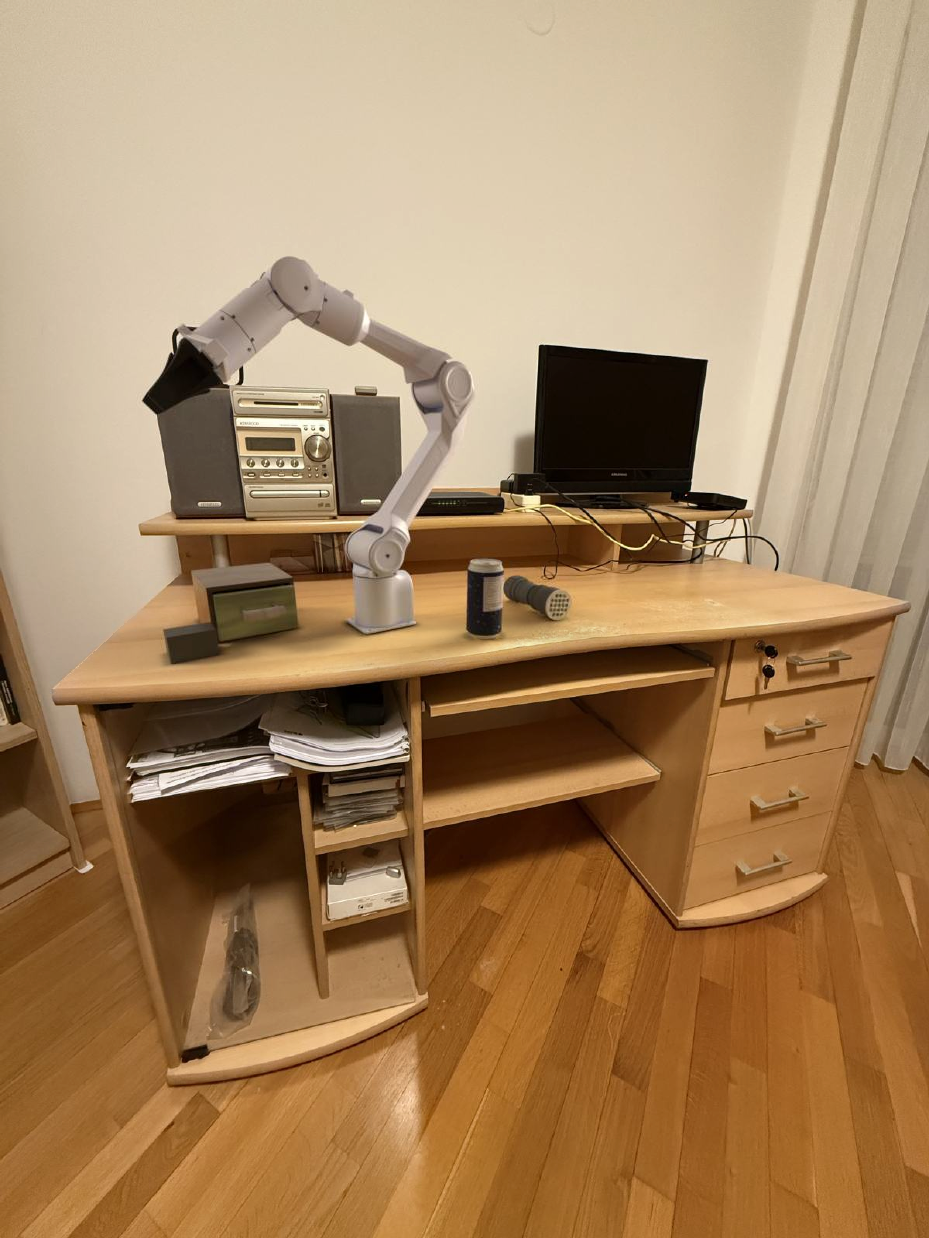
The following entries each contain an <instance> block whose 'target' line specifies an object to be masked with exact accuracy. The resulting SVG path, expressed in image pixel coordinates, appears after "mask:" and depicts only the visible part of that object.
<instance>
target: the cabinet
mask: <svg viewBox="0 0 929 1238" xmlns="http://www.w3.org/2000/svg"><path fill="white" fill-rule="evenodd" d="M190 572H191V580H192V586H193V592H194V599H195V604H196V605H195V606H196V611H197V616H198V621H199V622H200V624H201V623H207V622H211V623H212V625H213V626H214V628H215V629H216V633H217V640H218V644H219V643H223V642H230V641H236V640H240V639H241V640H242V639H246V638H253V637H257V636H264V635H268V634H269V635H270V634H274V633H281V632H284V631H285V632H286V631H292V630H297V629H298V628H293V629H287V630H281V631H276V632H270V633H265V634H259V635H253V636H248V637H242V638H236V639H231V640H225V641H220V639H219V635H218V628H217V621H216V614H215V608H214V601H213V593H212V592H219V591H227V590H235V589H243V588H251V587H259V586H267V585H275V584H284V585H285V586H286V585H293V586H295V582H294V577H293V576H291V575H290V574H288V573H287V572H286V571H284V570H282V569H280V568H279V567H277V566H276V565H274V564H273V563H271V562H262V563H252V564H244V565H243V564H242V565H232V566H231V565H230V566H222V567H213V568H203V569H192V570H190Z"/></svg>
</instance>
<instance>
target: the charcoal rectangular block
mask: <svg viewBox="0 0 929 1238" xmlns="http://www.w3.org/2000/svg"><path fill="white" fill-rule="evenodd" d="M162 632H163V637H164V643H165V648H166V654H167V656H168V659H169V662H170V665H173V664H178V663H182V662H183V663H184V662H189V661H193V660H199V659H204V658H211V657H214V656H220V647H219V643H218V640H217V633H216V629H215V628H214V626H213V625H212V623H211V622H207V623H201V622H200V623H196V624H188V625H182V626H177V627H170V628H164V629H162Z"/></svg>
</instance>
